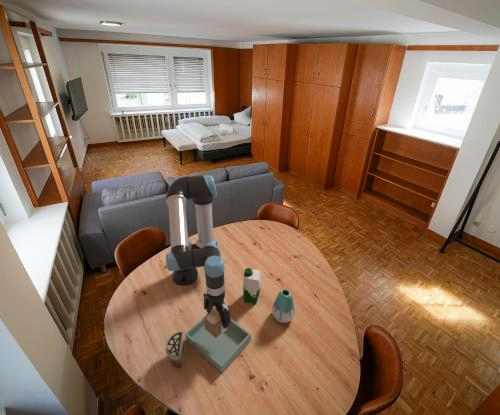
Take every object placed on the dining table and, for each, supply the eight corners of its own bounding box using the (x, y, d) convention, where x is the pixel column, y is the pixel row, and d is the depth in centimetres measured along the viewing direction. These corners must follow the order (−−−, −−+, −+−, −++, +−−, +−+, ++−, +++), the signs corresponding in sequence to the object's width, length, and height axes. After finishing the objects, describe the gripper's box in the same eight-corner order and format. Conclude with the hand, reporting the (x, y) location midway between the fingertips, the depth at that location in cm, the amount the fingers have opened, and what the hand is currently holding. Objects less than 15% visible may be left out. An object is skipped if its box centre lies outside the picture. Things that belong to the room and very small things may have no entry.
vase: (295, 311, 142) (299, 286, 133) (291, 329, 132) (295, 304, 123) (274, 304, 145) (277, 280, 136) (268, 322, 135) (271, 297, 126)
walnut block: (219, 316, 126) (218, 304, 122) (230, 324, 122) (229, 312, 118) (204, 329, 119) (203, 317, 116) (215, 338, 116) (215, 326, 112)
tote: (185, 340, 125) (184, 333, 123) (215, 313, 139) (215, 307, 136) (221, 373, 113) (221, 366, 110) (250, 340, 126) (251, 334, 124)
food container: (170, 344, 123) (167, 331, 118) (184, 343, 124) (181, 330, 119) (165, 372, 113) (162, 358, 108) (180, 371, 113) (177, 357, 108)
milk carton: (245, 290, 153) (245, 264, 143) (260, 293, 151) (262, 266, 142) (241, 302, 145) (242, 275, 136) (258, 305, 144) (259, 278, 134)
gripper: (192, 283, 112) (196, 319, 123) (227, 308, 101) (228, 345, 113) (205, 273, 117) (208, 309, 128) (239, 296, 106) (239, 333, 118)
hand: (217, 326), depth 120 cm, fingers closed on walnut block, 7 cm apart
